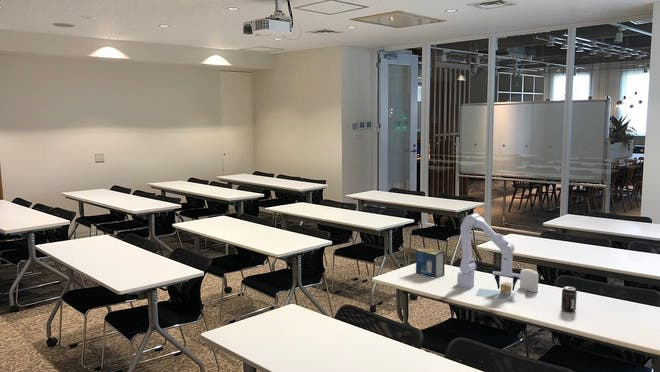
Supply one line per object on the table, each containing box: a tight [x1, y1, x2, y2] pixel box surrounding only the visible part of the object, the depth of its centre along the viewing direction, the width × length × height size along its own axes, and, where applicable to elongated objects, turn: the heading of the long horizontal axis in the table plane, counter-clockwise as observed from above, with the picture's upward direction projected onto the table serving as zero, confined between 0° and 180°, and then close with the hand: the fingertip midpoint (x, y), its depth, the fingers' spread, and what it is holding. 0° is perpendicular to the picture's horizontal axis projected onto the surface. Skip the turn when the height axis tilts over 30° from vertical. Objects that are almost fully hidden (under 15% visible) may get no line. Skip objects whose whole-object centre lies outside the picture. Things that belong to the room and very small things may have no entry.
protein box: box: [415, 247, 446, 278], centre depth 334 cm, size 10×15×16 cm
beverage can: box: [560, 286, 578, 313], centre depth 268 cm, size 7×7×12 cm
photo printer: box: [519, 268, 539, 293], centre depth 301 cm, size 10×4×12 cm, turn 39°
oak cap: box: [499, 281, 512, 296], centre depth 292 cm, size 5×5×6 cm
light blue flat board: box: [474, 288, 517, 302], centre depth 291 cm, size 20×14×1 cm
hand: (505, 289), depth 292 cm, fingers open, 7 cm apart
